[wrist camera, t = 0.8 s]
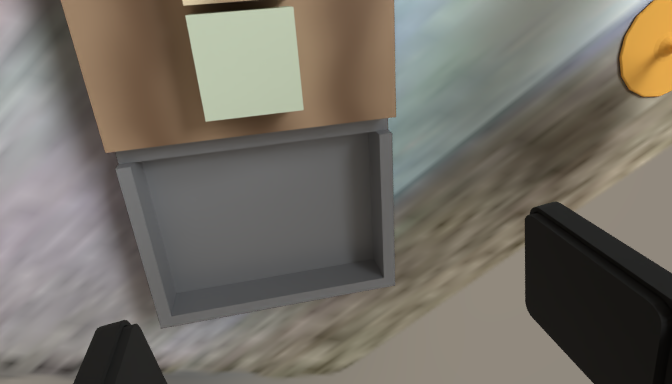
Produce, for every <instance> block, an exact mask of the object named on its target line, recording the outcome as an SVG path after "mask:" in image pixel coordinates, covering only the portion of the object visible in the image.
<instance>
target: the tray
mask: <svg viewBox="0 0 672 384" xmlns="http://www.w3.org/2000/svg"><path fill="white" fill-rule="evenodd" d="M115 153H116V157H117V160H118V166H117V167H116V169H115V170H116V173H117V177H118V180H119V184H120V187H121V191H122V194H123V198H124V201H125V205H126V208H127V212H128V215H129V218H130V222H131V225H132V229H133V232H134V236H135V239H136V243H137V246H138V250H139V253H140V257H141V260H142V264H143V267H144V270H145V274H146V277H147V281H148V284H149V288H150V291H151V295H152V298H153V302H154V305H155V309H156V312H157V315H158V319H159V322H160V326H161V329H162V328H167V327H172V326H178V325H183V324H189V323H194V322H199V321H205V320H210V319H216V318H221V317H226V316H232V315H237V314H243V313H248V312H253V311H259V310H264V309H270V308H275V307H281V306H286V305H291V304H297V303H302V302H308V301H313V300H318V299H324V298H329V297H335V296H340V295H345V294H351V293H356V292H362V291H367V290H372V289H378V288H383V287H389V286H394V285H395V253H394V204H393V155H392V133H391V132H390V131H389V130H388V118H383V119H375V120H367V121H359V122H351V123H343V124H335V125H327V126H319V127H311V128H303V129H295V130H287V131H278V132H270V133H262V134H254V135H246V136H238V137H230V138H222V139H214V140H206V141H198V142H190V143H182V144H174V145H166V146H157V147H149V148H141V149H133V150H125V151H117V152H115Z"/></svg>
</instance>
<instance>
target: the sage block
mask: <svg viewBox="0 0 672 384" xmlns="http://www.w3.org/2000/svg"><path fill="white" fill-rule="evenodd" d="M185 17H186V22H187V27H188V32H189V37H190V43H191V48H192V53H193V58H194V63H195V69H196V74H197V79H198V84H199V89H200V95H201V100H202V105H203V110H204V115H205V121H206V122H207V121H216V120H224V119H233V118H241V117H250V116H258V115H267V114H275V113H284V112H292V111H301V110H304V107H303V97H302V87H301V78H300V68H299V58H298V48H297V38H296V28H295V18H294V8H293V7H292V6H282V7H270V8H257V9H245V10H232V11H220V12H207V13H195V14H188V15H185Z"/></svg>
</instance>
